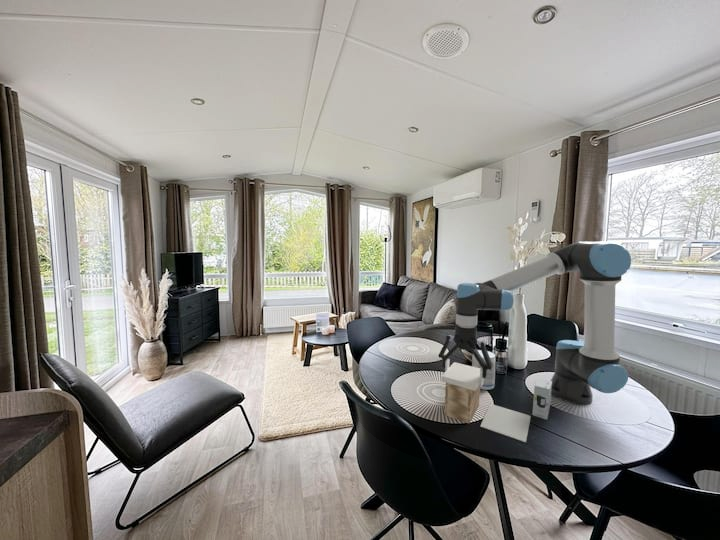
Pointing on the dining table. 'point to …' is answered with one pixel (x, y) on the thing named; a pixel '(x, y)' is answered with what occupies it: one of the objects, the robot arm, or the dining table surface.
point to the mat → (506, 422)
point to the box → (461, 402)
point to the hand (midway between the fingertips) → (463, 380)
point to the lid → (462, 376)
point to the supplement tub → (490, 378)
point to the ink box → (542, 398)
